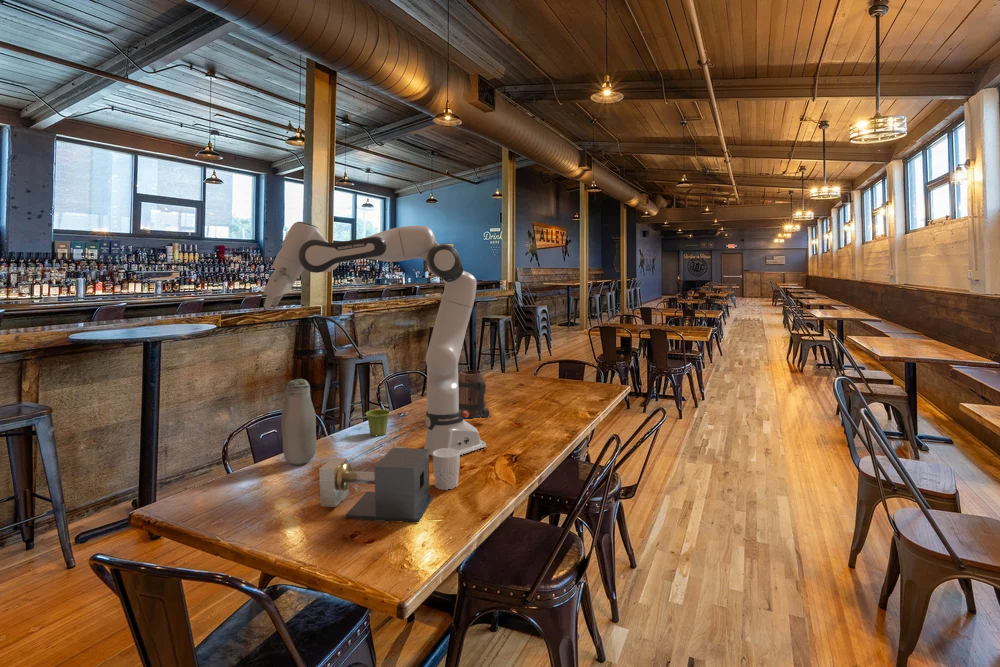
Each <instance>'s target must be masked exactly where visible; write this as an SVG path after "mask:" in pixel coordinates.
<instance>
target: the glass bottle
mask: <svg viewBox="0 0 1000 667" xmlns="http://www.w3.org/2000/svg"><path fill="white" fill-rule="evenodd" d="M284 389H285V399H284V404H283V407H282V412H281V419H280V420H281V435H282V436H281V438H282V450H283V457H284V458H285V460H286V461H287V462H288V463H289V464H291V465H295V466H296V465H297V466H300V465H304V464H306V463H308V462H310V461H312V460H313V458H314V456H315V455H316V453H317V452H316V451H317V421H316V420H317V418H316V411H315V407H314V404H313V401H312V396H311V385H310V383H309V381H307V380H306V379H305V378H304V379H303V378H296V379H292V380H290V381H289V382H287V383H286V384H285V388H284Z"/></svg>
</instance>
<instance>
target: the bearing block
mask: <svg viewBox="0 0 1000 667" xmlns="http://www.w3.org/2000/svg"><path fill="white" fill-rule="evenodd" d="M373 468H374V471H373V472H374V475H375V484H374V491H366V492H365V493H364V494H363V495H362V496H361V497H360V498H359V499H358V500H357V502H356V503H354V505H353V506H352V507H351V508H350V509H349V510H348V511H347V513H346V514H345V515H344V516H345V517H344V519H346V520H359V519H362V521H376V520H385V521H384V522H394V521H402V522H401V523H411V522H419V521H420V522H421V520H420V519H422V518H423V517H424V515H425V513H426V511H427V510H426V509H429V508H428V507H429V506H430V505H429V504H431V503H432V501H433V499H434V495H433V494H431V493H430V455H429V449H424V448H418V447H417V448H415V447H414V448H413V447H392V448H391V449H390V450H388V452H386V454H385V455H384V456H383V457H382V458H381V459H380V460H378V462H377V463H376V464H375V465H374V466H373ZM423 514H424V515H423ZM420 522H419V523H420Z"/></svg>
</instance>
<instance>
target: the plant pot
mask: <svg viewBox="0 0 1000 667" xmlns="http://www.w3.org/2000/svg"><path fill="white" fill-rule="evenodd" d="M390 413H391V411H390V410H387V409H379V408H378V409H373V410H368V411H366V412H365V415H366V418H367V422H368V428H369V434H370V435H371V436H372V435H374V436H373V437H379V436H385V435H387V431H388V421H389V416H390ZM384 434H385V435H384ZM376 435H377V436H376ZM378 435H379V436H378Z"/></svg>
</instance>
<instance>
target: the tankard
mask: <svg viewBox="0 0 1000 667" xmlns="http://www.w3.org/2000/svg"><path fill="white" fill-rule="evenodd" d="M484 379H485V378H484V375H483V371H482V370H462V371H460V372H459V371H458V387H459V410H461V411H466V412H468V413H469V416H468V417H467V418H465V417H463V419H473V418H480V417H481V418H488V416H489V415H490V410H489V408H488V407H486V405H487V404H486V400H485V399H486V397H485V395H486V389H487V388H486V385H487V384H486V381H485V380H484ZM488 419H489V418H488Z"/></svg>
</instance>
